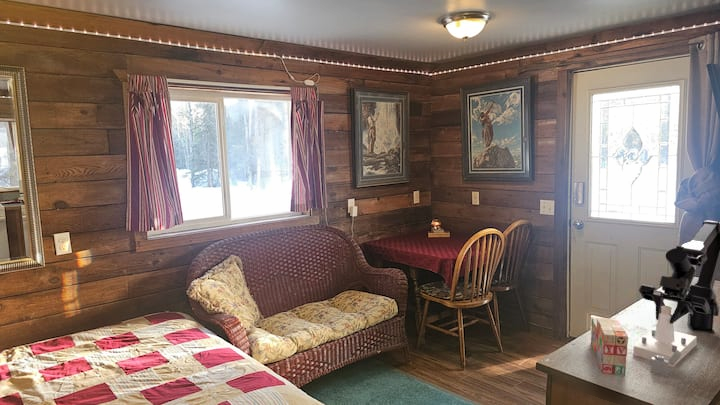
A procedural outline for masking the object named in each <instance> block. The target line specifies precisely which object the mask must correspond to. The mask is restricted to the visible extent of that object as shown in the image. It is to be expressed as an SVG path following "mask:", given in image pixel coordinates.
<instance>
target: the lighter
mask: <svg viewBox="0 0 720 405" xmlns="http://www.w3.org/2000/svg"><path fill="white" fill-rule="evenodd" d="M681 355H682V353H681V352H679V351H678V350H676V352H675V353H674V354H673V356H672V357H671V358H670V359H669V361H668V360H664V357H663V356H658V355H657V356H655V357H652V358H651V360H650V361H651V362H650V374H654V375H658V376H661V377H668V376H669V374H668V373H669V372H668V371H669V366H668V363H670V364H671V365H674V364H675V363H676V361H677V360H678V359H679V358H680V356H681Z"/></svg>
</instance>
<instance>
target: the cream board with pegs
mask: <svg viewBox="0 0 720 405" xmlns="http://www.w3.org/2000/svg"><path fill="white" fill-rule="evenodd" d="M655 332H656V329H652V330H651V332H650V333H649V334H648V335H646V336H643V337H641V340H640V341H638V342H637V343H636V344H634V345H633V353H632V354H633V356H635V357H638V358H642V359H645V360H648V361H651V358H652V357H655V356H657V355H658V356H663V357H664V360H668V361H669V359H670V358H671V357H672V356H673V354H674V353H675V352H676V350H678V351H679V352H681V353H682V355H681V356H680V358H679V359H678V360H677V361H676V363H675V364H674V365H671V364H670V363H668V367H671V368H674V367H675V366H676V365H677V364H678V363H679V362H681V361H682V359H684V358H685V356H686V355H688V354H689V353H690V352H691V351H692V349H694V348H695V347H696V346H697V336H695V335H691V334H687V333H684V332H680V331H675V330H674V339H675V341H674V342H673V343H662V342H659V341H657V340H656V339H655Z"/></svg>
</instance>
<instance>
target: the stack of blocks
mask: <svg viewBox="0 0 720 405" xmlns="http://www.w3.org/2000/svg"><path fill="white" fill-rule="evenodd" d="M590 327H591V330H590V331H591V333H590V335H591V336H590V344H591V347H592V349H593V350H592V351H593V353H594V355H595V357H596V359H597V360H596V361H597V362H598V366H599V370H600V372H601V374H607V375H617V376H624V377H626V369H627V366H626V364H627V355H628V342H629V336H628V334H627V333H626V330H625V329H624V327H623V325H622V323H620V320H618V319H612V318H606V317H593V316H592V317H591V324H590Z"/></svg>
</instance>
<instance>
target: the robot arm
mask: <svg viewBox="0 0 720 405" xmlns="http://www.w3.org/2000/svg"><path fill="white" fill-rule="evenodd" d="M665 259H666V261H667V263H668V266H669V268H670V270H672V273H671V275H670V276H665V275H661V278H660V281H659V286H660V287H661V290H662V291H661V290H657V289H656V286H652V285H650V284H649V285H648V284H641V285H640V286H639V288H638V292H639V293H640V294H641V297H642V299H644V300H647V301H651V302H654V305H655V319H656V321H658V316H659V314H660V313H661V306H666V304H665V303H664V301H665V300H667V301H670V302H671V301H672V302H675V303H676V307H675V309H674V310H673V311H674V312H673V313H672V314H671V315H672V317H671V320H670V324H674V323H675V322H677V321H678V320H679V319H680V318H683V316H686V315H687V325H688V327H689V329H691V330H692V331H694V332H695V331H696V332H702V333H703V332H704V333H715V330H714V329H713V328H714V318H715V317H719V313H720V306H719V303H718V301H717V295H716V293H715V290H714V285H715V282H716V278H717V275H718V272H719V267H720V221H716V220H709V219H708V220H704V221H703V222H702V225H701V228H700V229H699V230H698V232H697V233H696V234H695V235H694V237H692V240H690V241H688V242H685V243H683V244H682V245H676V247H675V248H672V249H669V250H668V251H667V252H666V253H665ZM694 266H695V267H701V269H700V272H699V275H698V279H697V283H696V282H695V284H692V282H693V280H694V278H695V277H697V276H696V275H697V274H696V272H697V271H696V270H697V269H696V268H695V267H694ZM663 291H664V292H663Z"/></svg>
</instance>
